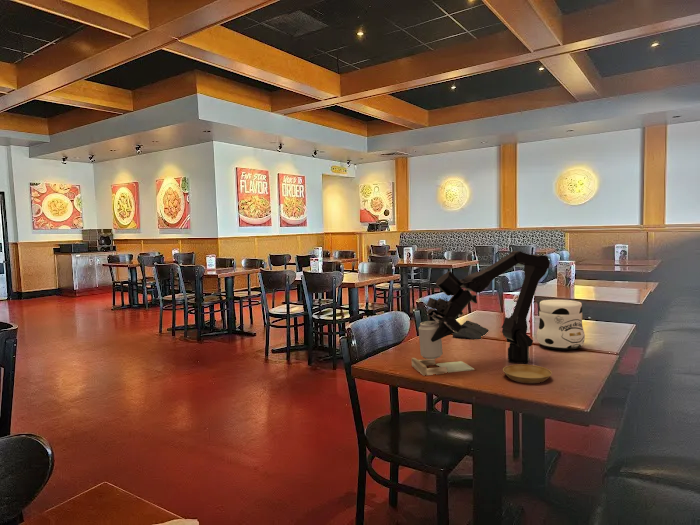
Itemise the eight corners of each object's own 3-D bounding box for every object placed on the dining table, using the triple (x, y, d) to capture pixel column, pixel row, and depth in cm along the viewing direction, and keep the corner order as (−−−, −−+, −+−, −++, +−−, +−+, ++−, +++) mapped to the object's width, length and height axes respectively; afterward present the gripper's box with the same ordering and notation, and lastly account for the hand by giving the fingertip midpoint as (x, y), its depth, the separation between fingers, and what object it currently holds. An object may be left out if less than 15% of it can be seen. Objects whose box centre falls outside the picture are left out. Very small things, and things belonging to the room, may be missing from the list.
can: (442, 359, 163) (439, 324, 162) (420, 360, 165) (417, 325, 164) (443, 353, 171) (440, 319, 170) (421, 353, 172) (418, 320, 171)
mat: (461, 362, 176) (461, 361, 176) (474, 369, 166) (474, 368, 166) (435, 364, 174) (435, 363, 174) (446, 372, 164) (446, 371, 164)
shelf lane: (434, 364, 174) (433, 355, 174) (447, 373, 163) (447, 364, 163) (411, 366, 173) (411, 357, 173) (423, 375, 161) (423, 366, 161)
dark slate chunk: (446, 339, 215) (446, 328, 214) (457, 329, 235) (457, 319, 234) (482, 341, 208) (481, 330, 208) (490, 331, 228) (489, 321, 228)
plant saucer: (558, 377, 156) (558, 369, 156) (541, 389, 145) (541, 380, 145) (514, 369, 166) (514, 361, 166) (495, 380, 155) (495, 372, 155)
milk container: (579, 355, 180) (579, 307, 179) (531, 349, 191) (531, 303, 190) (589, 345, 194) (589, 300, 193) (544, 340, 205) (543, 298, 203)
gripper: (430, 286, 176) (402, 318, 175) (451, 292, 158) (420, 328, 156) (451, 306, 178) (424, 338, 177) (474, 314, 160) (444, 350, 159)
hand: (427, 338), depth 167 cm, fingers closed on can, 7 cm apart
